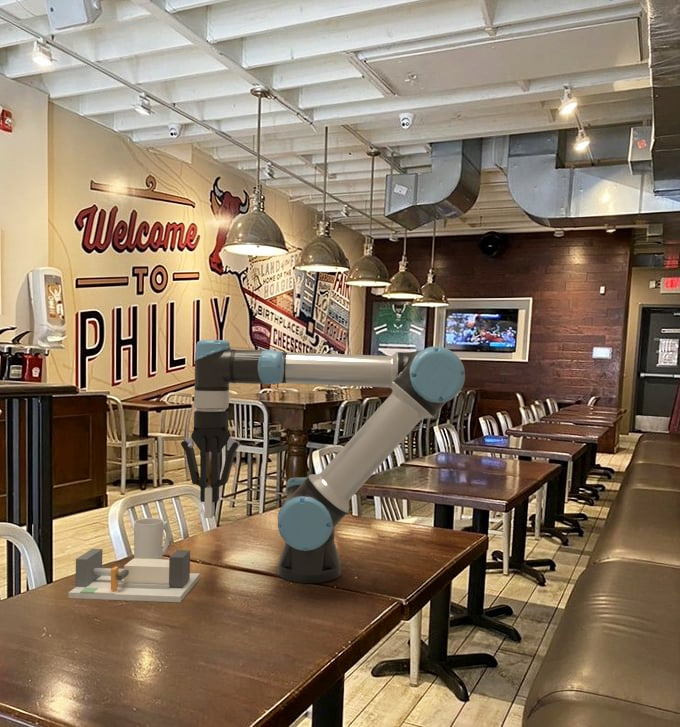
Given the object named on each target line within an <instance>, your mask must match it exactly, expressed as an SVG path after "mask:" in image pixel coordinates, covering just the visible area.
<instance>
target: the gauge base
mask: <svg viewBox="0 0 680 727" xmlns="http://www.w3.org/2000/svg"><path fill="white" fill-rule="evenodd" d="M112 568H113V567H112ZM112 568H108V567H107V568H105V567H103V548H91V549H90V550H87V551H86V552H85V553H83V554H82V555H80V556H78V557H77V558H76V559H75V584H74V585H75V587H74V588H72V589H71V590H70V591H68V599H79V600H80V599H81V600H82V599H84V600H106V601H108V600H110V601H111V600H112V601H115V600H116V601H133V602H136V601H137V602H158V603H159V602H162V603H163V602H164V603H181V602H182V601H183V600H184V598H185V597H186V596H187V595H188V593H189V592H191V590H192V589H193V588H194V586H196V584H197V583H198V582H199V580H200V579H201V573H197V572H195V573H193V572H190V579H189V580H188V581H187V583H186V584H185V585H184V586H183V587H169V586H170V585H158V584H130V583H124V579H123V580H118V588H117V589H116V590H111V569H112ZM123 570H124V568H119V572H118V574H120V573H121V572H122V571H123Z"/></svg>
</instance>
